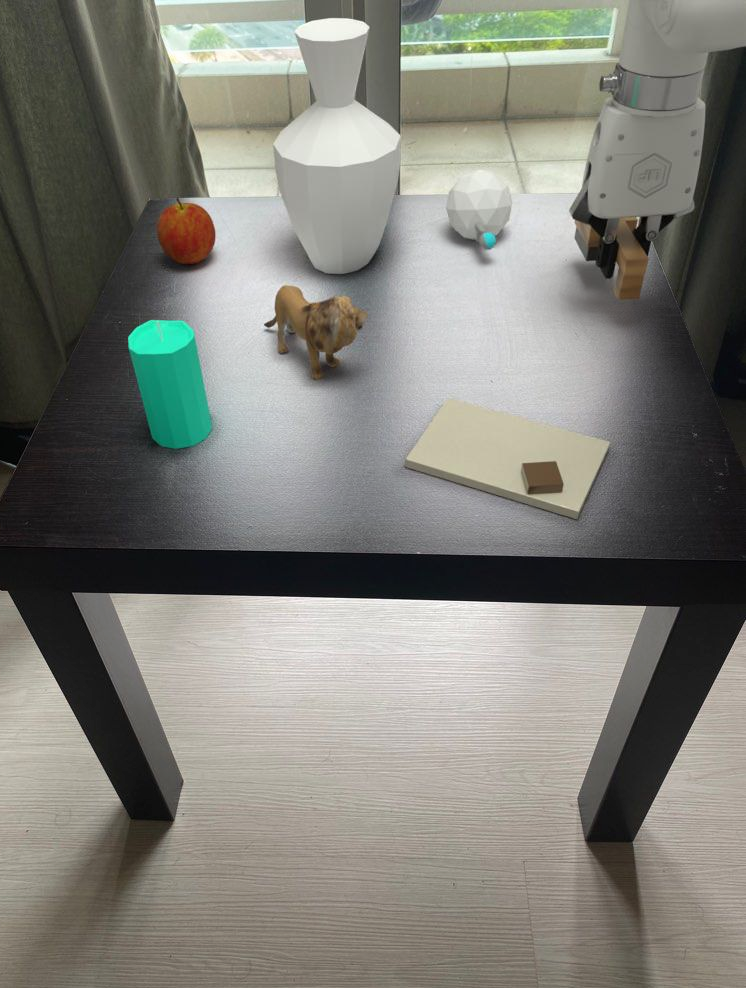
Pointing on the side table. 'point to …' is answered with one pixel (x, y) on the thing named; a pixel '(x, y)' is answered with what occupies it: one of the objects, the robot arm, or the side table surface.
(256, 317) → the side table surface
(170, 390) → the candle
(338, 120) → the vase
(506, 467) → the tile
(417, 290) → the side table surface
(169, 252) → the fruit
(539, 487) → the mud flake
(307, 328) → the lion figurine
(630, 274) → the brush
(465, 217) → the perfume bottle
